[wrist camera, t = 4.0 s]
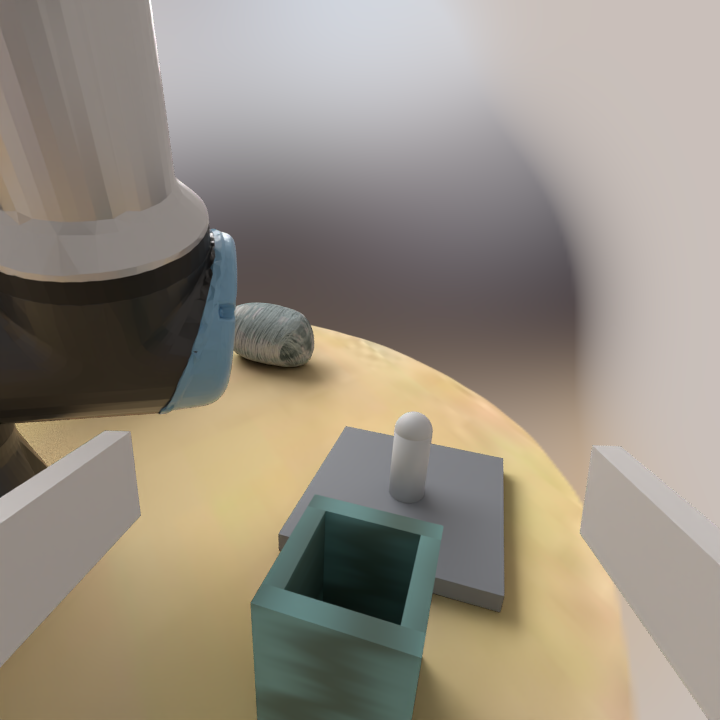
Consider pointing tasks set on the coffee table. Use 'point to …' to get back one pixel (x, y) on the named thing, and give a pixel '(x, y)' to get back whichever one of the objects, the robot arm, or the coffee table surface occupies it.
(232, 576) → the coffee table surface
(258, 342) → the grey rounded piece
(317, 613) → the sleeve
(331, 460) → the hub plate
